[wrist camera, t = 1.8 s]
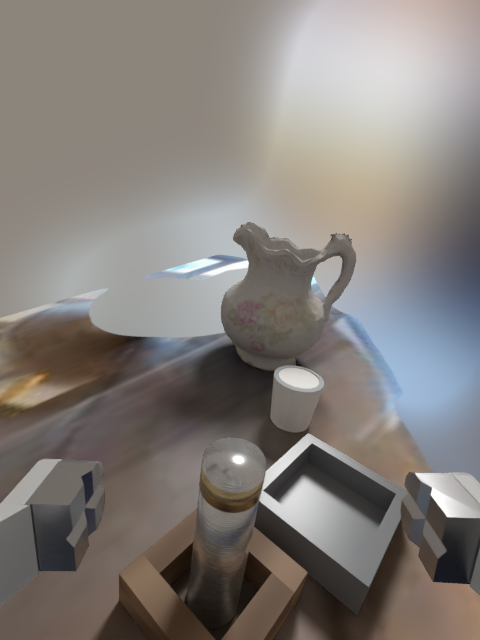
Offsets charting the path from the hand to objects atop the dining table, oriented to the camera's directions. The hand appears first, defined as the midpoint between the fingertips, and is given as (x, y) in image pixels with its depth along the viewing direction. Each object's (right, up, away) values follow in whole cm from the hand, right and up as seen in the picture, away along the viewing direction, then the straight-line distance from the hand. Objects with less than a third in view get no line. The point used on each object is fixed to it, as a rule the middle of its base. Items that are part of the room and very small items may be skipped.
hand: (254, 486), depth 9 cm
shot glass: (+7, -10, +40) cm, 42 cm away
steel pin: (-2, -17, +18) cm, 25 cm away
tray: (+8, -16, +26) cm, 31 cm away
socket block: (-2, -17, +18) cm, 25 cm away
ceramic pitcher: (+6, -3, +58) cm, 58 cm away
